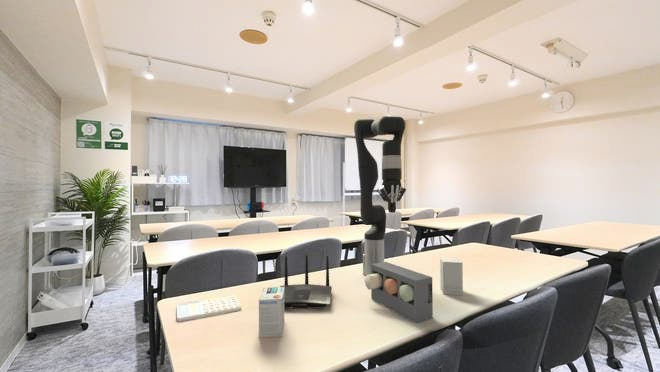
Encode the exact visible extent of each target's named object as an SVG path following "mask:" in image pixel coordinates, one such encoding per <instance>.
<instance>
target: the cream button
mask: <svg viewBox="0 0 660 372" xmlns="http://www.w3.org/2000/svg"><path fill="white" fill-rule="evenodd" d="M364 283H365V286H366V288H367V289H368V290H371V289H375V288H380V287H383V275H382V274H381V273H376V274H370V275H365V277H364Z"/></svg>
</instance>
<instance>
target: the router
mask: <svg viewBox="0 0 660 372" xmlns="http://www.w3.org/2000/svg"><path fill="white" fill-rule="evenodd" d="M284 258H285V259H284V285H279V287H284V308H292V309H307V310H308V308H309V309H310V308H311V309H315V308H316V309H318V308H319V309H325V308H327V306H330V305H331V296H332V289H333V286H331V285H330V269H329V268H330V267H329V266H330V264H329V255H326V262H325V263H326V264H325V265H326V266H325V267H326V270H325V285H323V284H313V283H312V284H310V283H309V260H308V259H309V258H308V254H305V264H304V265H305V266H304V267H305V269H304V273H305V274H304V283H303V284H289V278H288V277H289V276H288V275H289V273H288V272H289V271H288V255H287V254H286V255H284Z"/></svg>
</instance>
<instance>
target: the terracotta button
mask: <svg viewBox="0 0 660 372" xmlns="http://www.w3.org/2000/svg"><path fill="white" fill-rule="evenodd" d="M384 286H385V290H386V292H387V293H388V294H390V295H391V294H395V293H398V290H397V279H394V278H391V279H387V280H386V281H385V283H384Z"/></svg>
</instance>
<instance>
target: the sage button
mask: <svg viewBox="0 0 660 372" xmlns="http://www.w3.org/2000/svg"><path fill="white" fill-rule="evenodd" d="M399 293H400V297H401V298H402V300H403V301H405V302H408V301H412V300H414V286H412V285H409V284H407V285H402V286H401V287H400V289H399Z"/></svg>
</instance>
